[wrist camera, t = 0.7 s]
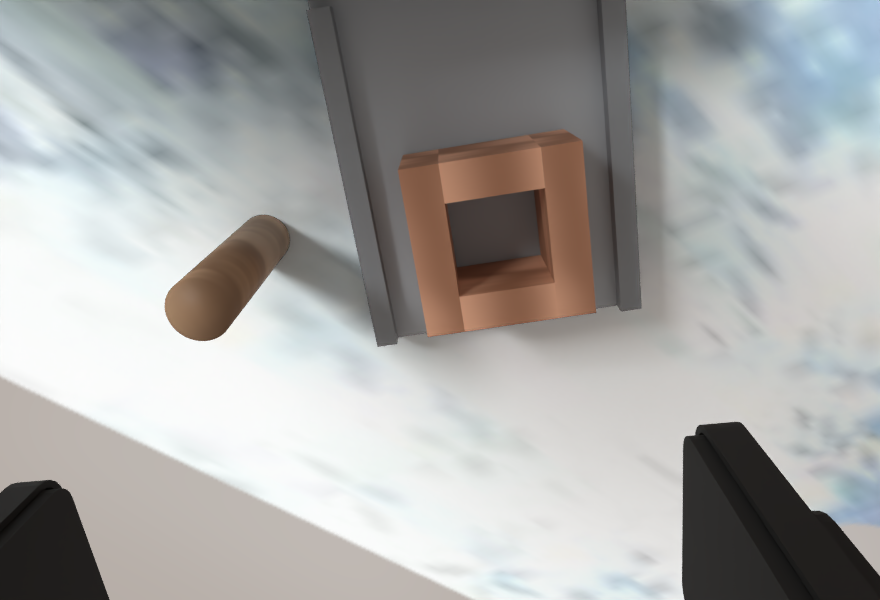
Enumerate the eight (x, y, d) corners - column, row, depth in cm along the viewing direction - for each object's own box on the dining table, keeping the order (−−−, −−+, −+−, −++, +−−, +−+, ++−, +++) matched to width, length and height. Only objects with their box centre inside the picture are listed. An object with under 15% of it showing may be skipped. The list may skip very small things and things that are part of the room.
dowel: (248, 265, 41) (176, 345, 30) (235, 218, 40) (156, 284, 29) (294, 257, 41) (240, 336, 30) (283, 211, 40) (221, 274, 29)
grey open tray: (381, 327, 42) (367, 395, 34) (304, -48, 35) (260, -79, 26) (627, 291, 42) (675, 351, 33) (604, -102, 34) (659, -152, 25)
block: (429, 303, 40) (427, 337, 35) (403, 154, 36) (397, 170, 32) (577, 281, 39) (596, 312, 34) (563, 129, 36) (582, 140, 31)
